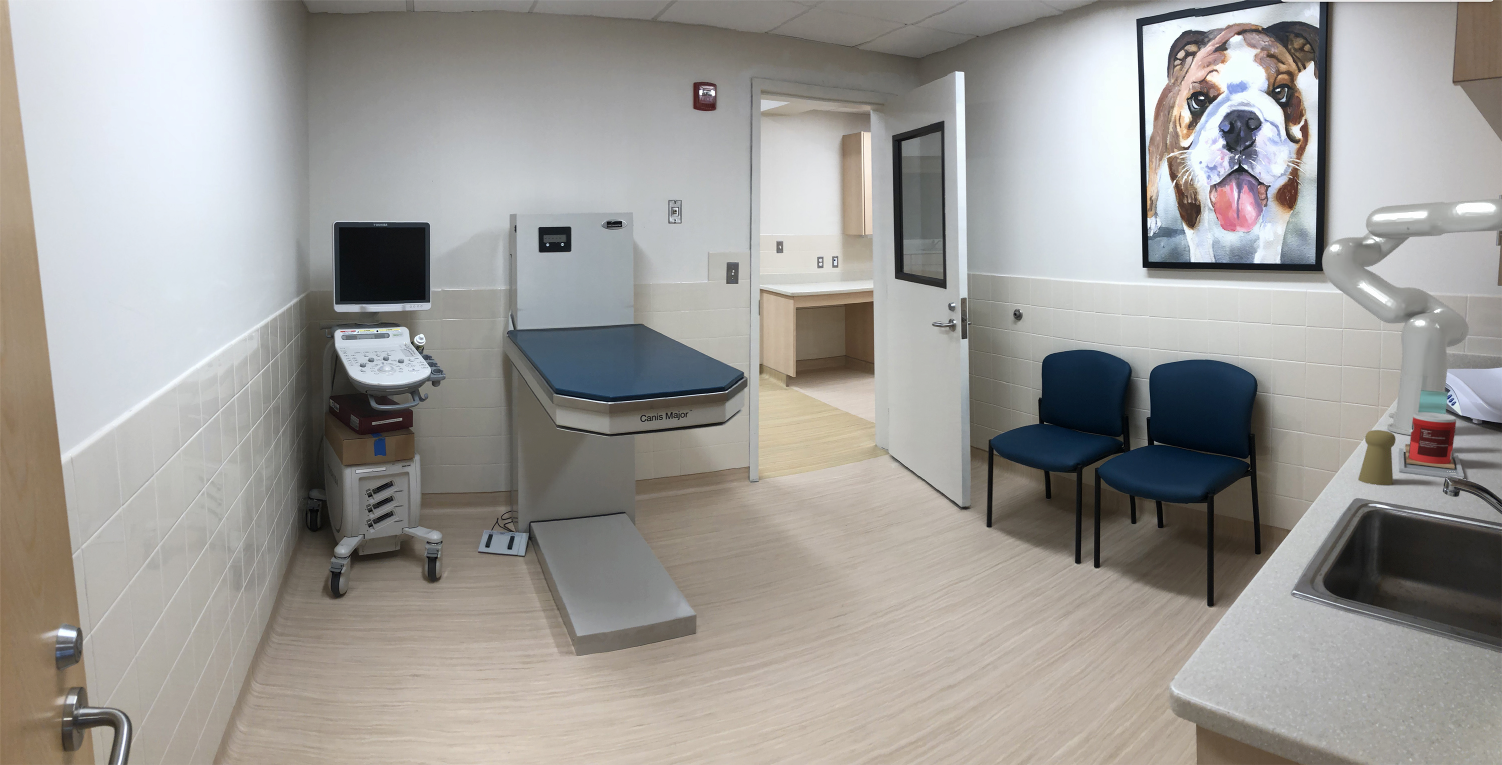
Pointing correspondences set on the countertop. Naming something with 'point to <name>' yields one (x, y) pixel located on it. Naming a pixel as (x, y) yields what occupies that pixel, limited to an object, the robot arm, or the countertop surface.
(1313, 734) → the countertop surface
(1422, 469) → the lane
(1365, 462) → the cork
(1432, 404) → the teal upright with base
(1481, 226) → the robot arm
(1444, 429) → the canned food
